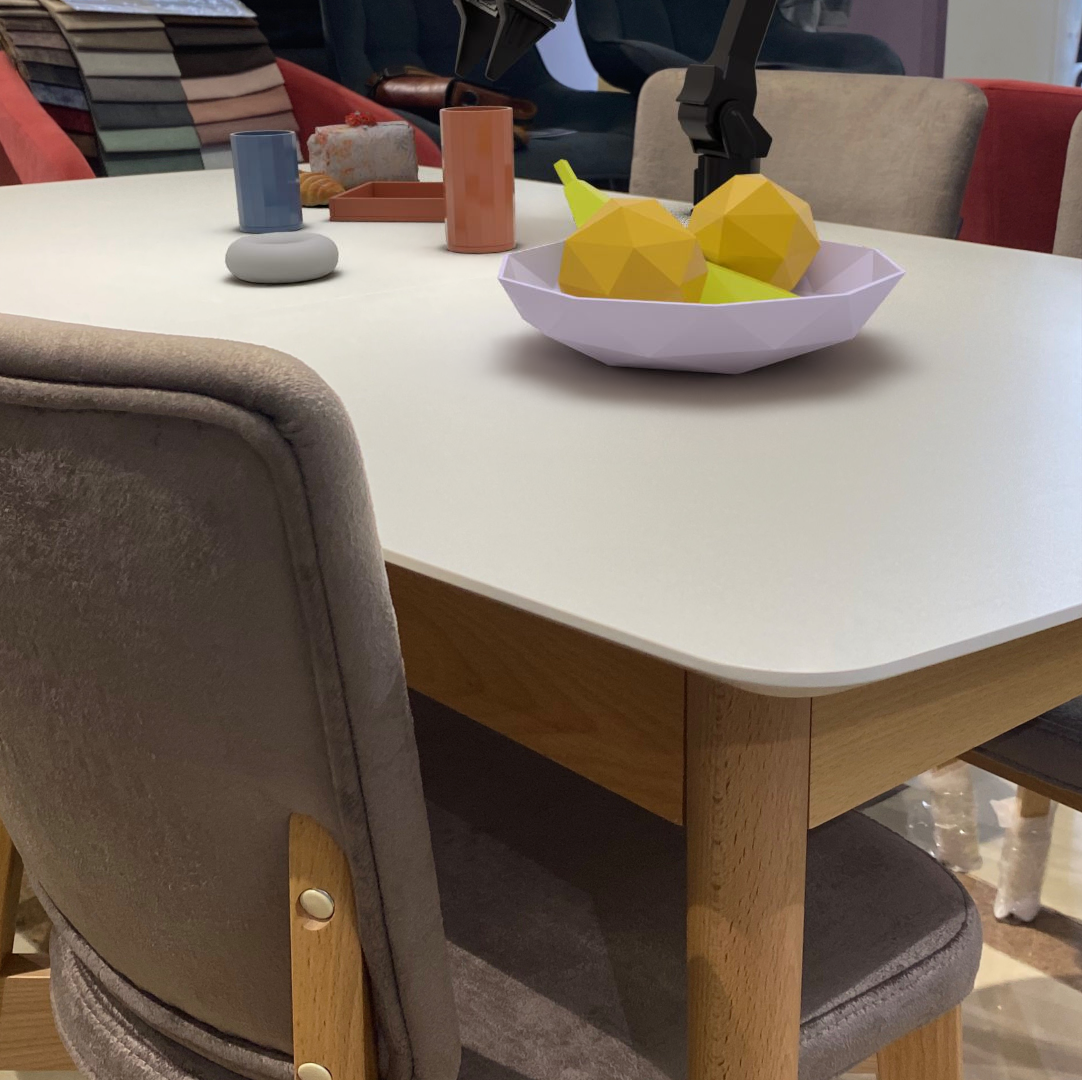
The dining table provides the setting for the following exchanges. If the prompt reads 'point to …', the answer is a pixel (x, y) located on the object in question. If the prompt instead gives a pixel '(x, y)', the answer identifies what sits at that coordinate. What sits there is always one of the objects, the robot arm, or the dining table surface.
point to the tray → (390, 202)
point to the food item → (364, 151)
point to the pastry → (318, 188)
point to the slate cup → (267, 181)
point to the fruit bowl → (696, 280)
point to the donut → (282, 257)
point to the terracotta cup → (478, 178)
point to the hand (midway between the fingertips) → (474, 77)
